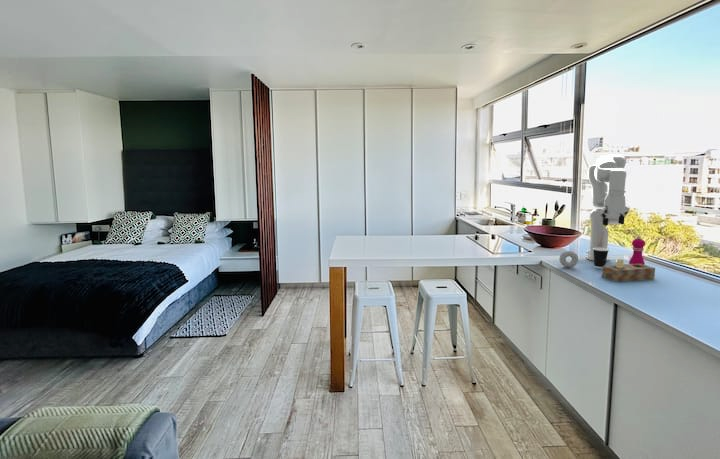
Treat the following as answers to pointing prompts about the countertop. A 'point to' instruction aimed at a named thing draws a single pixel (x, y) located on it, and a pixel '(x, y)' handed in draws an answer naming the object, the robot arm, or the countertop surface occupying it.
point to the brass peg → (619, 264)
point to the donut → (572, 262)
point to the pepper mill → (637, 251)
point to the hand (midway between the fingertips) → (613, 224)
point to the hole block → (628, 272)
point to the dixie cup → (600, 257)
